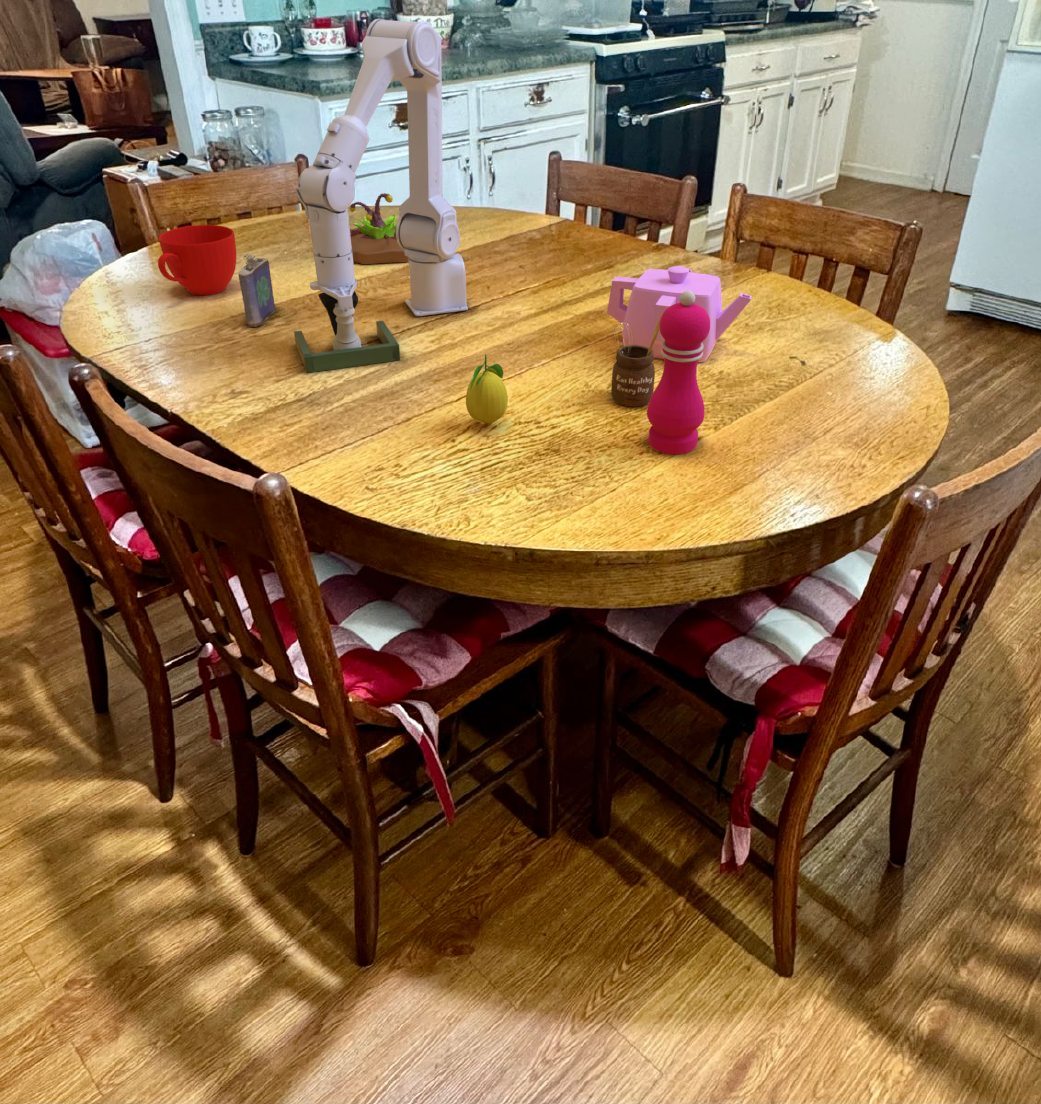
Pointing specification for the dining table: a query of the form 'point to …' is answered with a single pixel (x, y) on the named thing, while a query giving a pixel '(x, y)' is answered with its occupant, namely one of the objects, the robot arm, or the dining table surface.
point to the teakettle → (669, 304)
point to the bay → (349, 353)
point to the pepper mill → (679, 378)
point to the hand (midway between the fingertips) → (343, 338)
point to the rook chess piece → (345, 329)
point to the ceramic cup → (199, 257)
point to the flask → (256, 290)
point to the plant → (375, 237)
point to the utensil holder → (633, 373)
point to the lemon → (487, 394)
